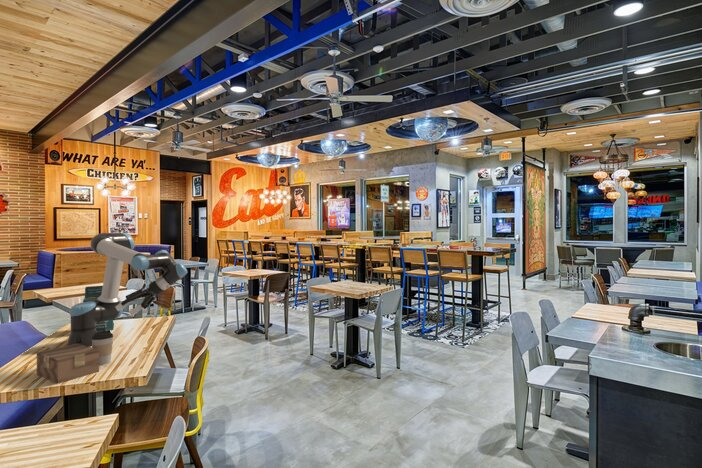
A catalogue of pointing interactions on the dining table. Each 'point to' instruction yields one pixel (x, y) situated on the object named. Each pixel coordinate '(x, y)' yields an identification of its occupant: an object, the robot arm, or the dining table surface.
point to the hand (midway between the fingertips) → (123, 311)
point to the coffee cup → (103, 346)
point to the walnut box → (67, 362)
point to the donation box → (92, 295)
